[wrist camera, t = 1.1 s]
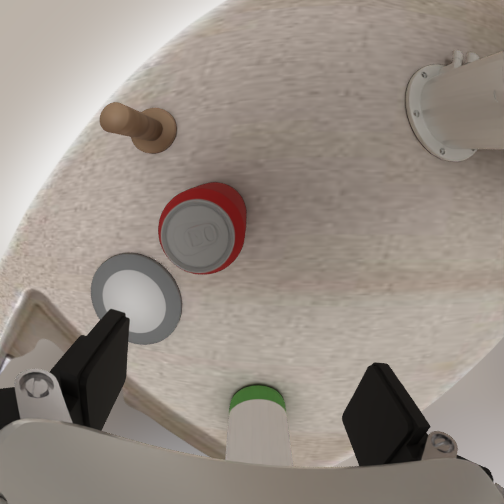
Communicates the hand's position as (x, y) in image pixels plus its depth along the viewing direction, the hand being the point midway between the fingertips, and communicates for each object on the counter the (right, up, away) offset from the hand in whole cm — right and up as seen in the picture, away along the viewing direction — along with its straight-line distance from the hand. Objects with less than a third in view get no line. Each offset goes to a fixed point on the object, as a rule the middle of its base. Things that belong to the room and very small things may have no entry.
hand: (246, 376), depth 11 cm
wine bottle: (+1, -17, +30) cm, 34 cm away
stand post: (-10, +18, +20) cm, 29 cm away
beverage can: (-4, +9, +23) cm, 25 cm away
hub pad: (-14, -1, +25) cm, 29 cm away
